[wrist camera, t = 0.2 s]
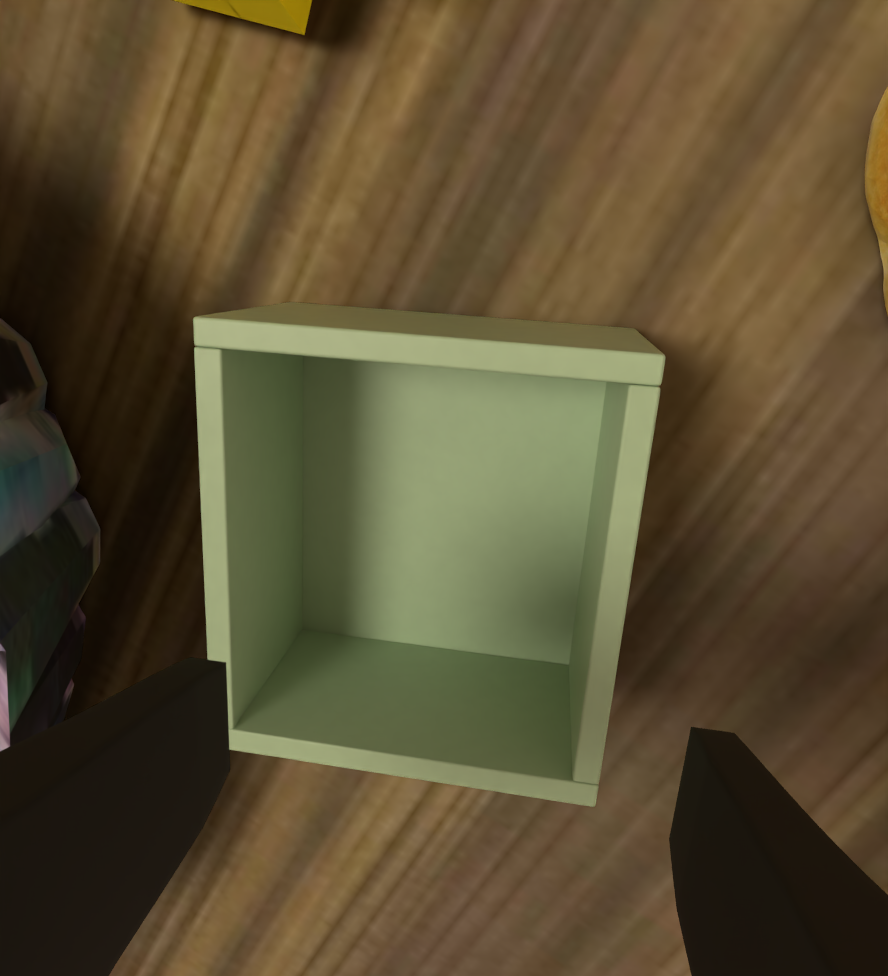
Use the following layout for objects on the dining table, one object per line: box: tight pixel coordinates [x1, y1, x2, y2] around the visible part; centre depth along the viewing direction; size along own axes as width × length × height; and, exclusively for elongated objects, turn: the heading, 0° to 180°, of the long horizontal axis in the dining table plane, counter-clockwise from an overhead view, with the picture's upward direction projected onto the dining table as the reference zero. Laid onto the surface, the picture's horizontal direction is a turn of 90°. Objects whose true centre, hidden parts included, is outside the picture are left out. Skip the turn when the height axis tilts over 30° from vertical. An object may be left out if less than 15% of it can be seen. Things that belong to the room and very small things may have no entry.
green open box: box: [193, 302, 666, 807], centre depth 18 cm, size 10×9×6 cm
